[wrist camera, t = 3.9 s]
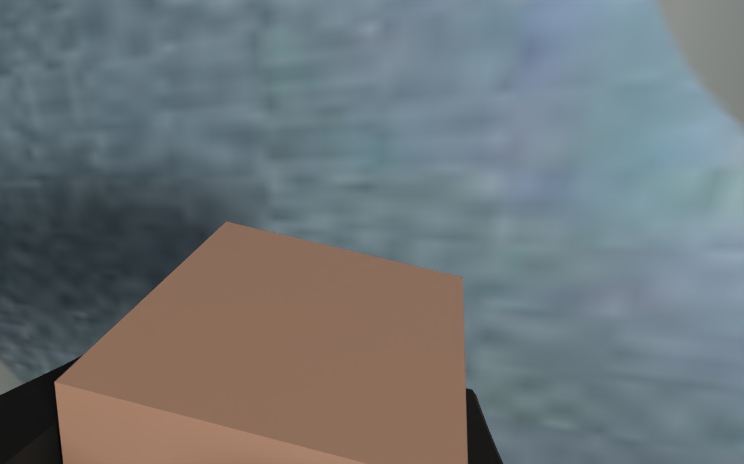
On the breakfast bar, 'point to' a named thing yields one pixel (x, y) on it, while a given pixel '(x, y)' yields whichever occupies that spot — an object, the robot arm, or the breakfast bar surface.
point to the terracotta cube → (275, 363)
